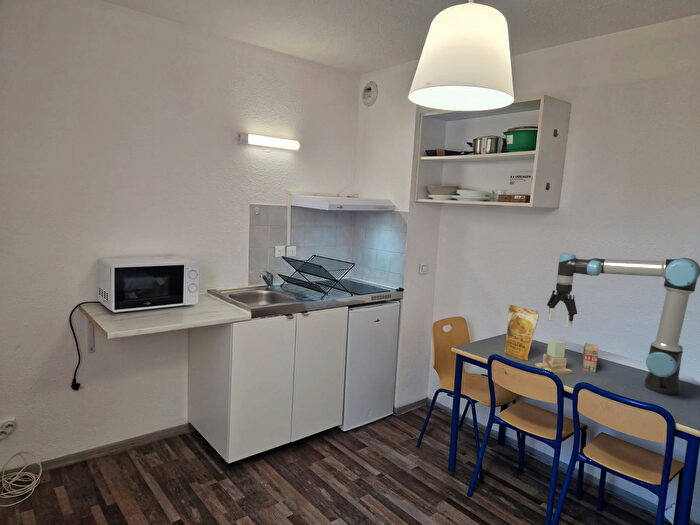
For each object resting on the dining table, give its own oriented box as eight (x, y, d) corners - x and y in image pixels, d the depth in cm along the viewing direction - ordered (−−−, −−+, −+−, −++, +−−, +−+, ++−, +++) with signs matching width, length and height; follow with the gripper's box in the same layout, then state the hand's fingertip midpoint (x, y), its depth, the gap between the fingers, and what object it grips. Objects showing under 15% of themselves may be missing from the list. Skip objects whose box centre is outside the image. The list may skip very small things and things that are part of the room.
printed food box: (582, 360, 272) (584, 339, 271) (594, 362, 269) (597, 340, 268) (582, 370, 253) (585, 348, 251) (595, 373, 250) (598, 350, 249)
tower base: (573, 373, 247) (574, 359, 246) (551, 374, 244) (553, 360, 243) (555, 364, 260) (557, 351, 259) (534, 365, 257) (536, 351, 256)
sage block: (564, 357, 249) (565, 342, 248) (554, 357, 247) (555, 342, 246) (556, 353, 255) (558, 339, 254) (546, 354, 253) (548, 339, 252)
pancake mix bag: (507, 350, 281) (512, 303, 278) (534, 360, 265) (540, 311, 261) (499, 351, 278) (504, 304, 274) (526, 362, 261) (532, 312, 258)
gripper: (588, 287, 235) (583, 329, 238) (554, 279, 259) (550, 317, 262) (575, 287, 234) (570, 330, 236) (542, 279, 257) (538, 317, 260)
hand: (559, 323), depth 249 cm, fingers open, 13 cm apart
